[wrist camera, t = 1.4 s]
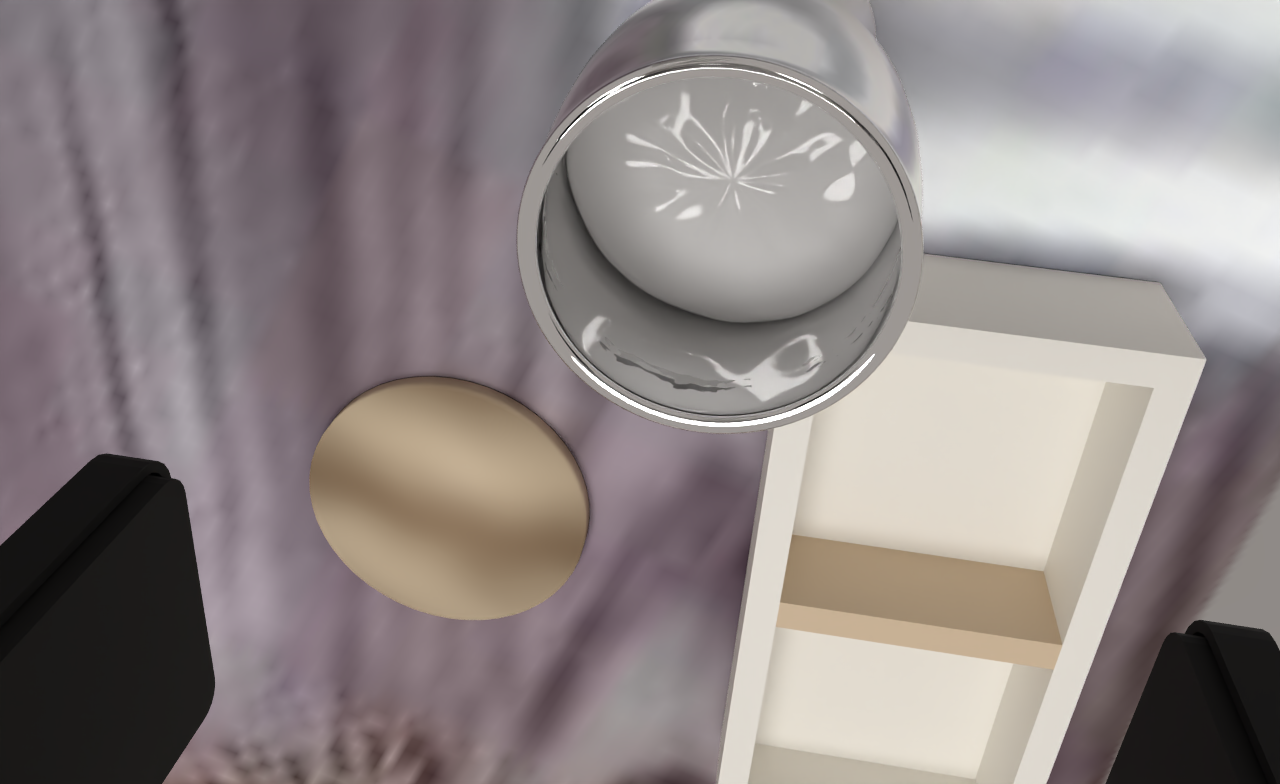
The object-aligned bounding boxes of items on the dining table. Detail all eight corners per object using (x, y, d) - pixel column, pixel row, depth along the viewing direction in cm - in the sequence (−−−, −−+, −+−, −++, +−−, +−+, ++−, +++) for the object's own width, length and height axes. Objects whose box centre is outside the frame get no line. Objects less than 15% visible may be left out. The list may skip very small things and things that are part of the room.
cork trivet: (307, 358, 38) (297, 369, 38) (596, 398, 37) (592, 410, 37) (328, 584, 43) (320, 598, 43) (583, 624, 42) (579, 638, 42)
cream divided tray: (797, 238, 33) (793, 306, 29) (1160, 282, 33) (1206, 359, 29) (721, 732, 44) (710, 831, 40) (992, 776, 43) (1008, 883, 39)
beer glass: (734, -151, 29) (655, -59, 16) (948, 12, 30) (1036, 221, 17) (590, 73, 32) (428, 299, 19) (787, 212, 33) (760, 512, 20)
